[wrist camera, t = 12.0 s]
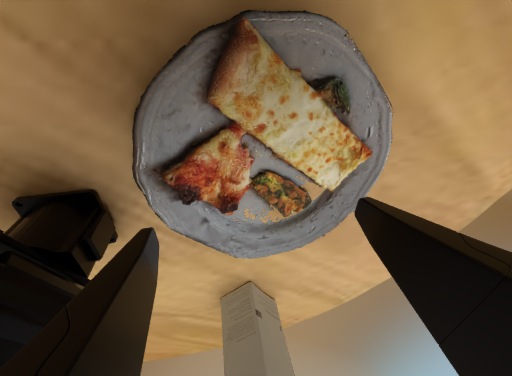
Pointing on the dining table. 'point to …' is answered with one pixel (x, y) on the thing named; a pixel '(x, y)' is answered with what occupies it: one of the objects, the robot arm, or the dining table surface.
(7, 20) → the dining table surface
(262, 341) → the skincare box
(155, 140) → the food plate
